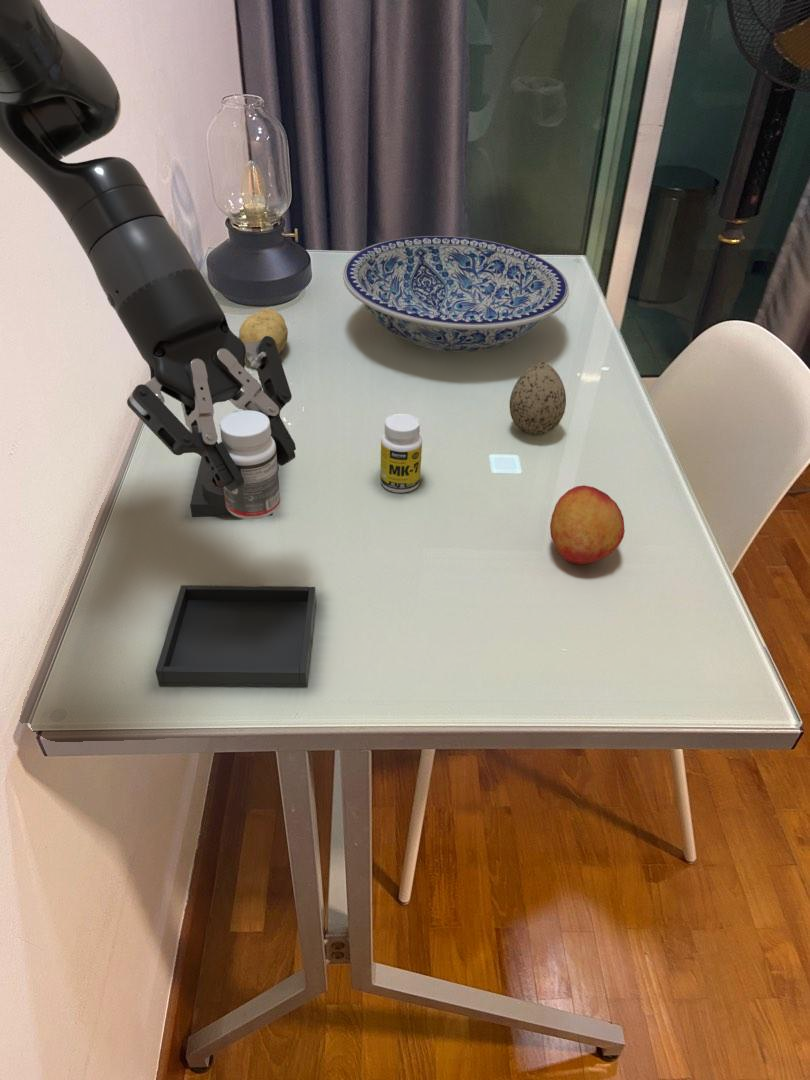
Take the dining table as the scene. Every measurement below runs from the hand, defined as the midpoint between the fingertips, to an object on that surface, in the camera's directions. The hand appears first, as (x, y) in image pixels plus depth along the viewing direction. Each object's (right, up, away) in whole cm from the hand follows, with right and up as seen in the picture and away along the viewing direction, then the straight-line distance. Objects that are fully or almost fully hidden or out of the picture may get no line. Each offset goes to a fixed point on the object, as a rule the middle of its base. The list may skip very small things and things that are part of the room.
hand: (263, 473), depth 68 cm
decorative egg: (+29, +8, +40) cm, 50 cm away
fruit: (+31, -7, +21) cm, 38 cm away
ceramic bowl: (+19, +27, +62) cm, 70 cm away
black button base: (-8, +1, +28) cm, 30 cm away
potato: (-9, +22, +55) cm, 60 cm away
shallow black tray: (-4, -15, +10) cm, 18 cm away
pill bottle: (-1, -3, +4) cm, 5 cm away
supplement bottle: (+11, +1, +30) cm, 32 cm away
